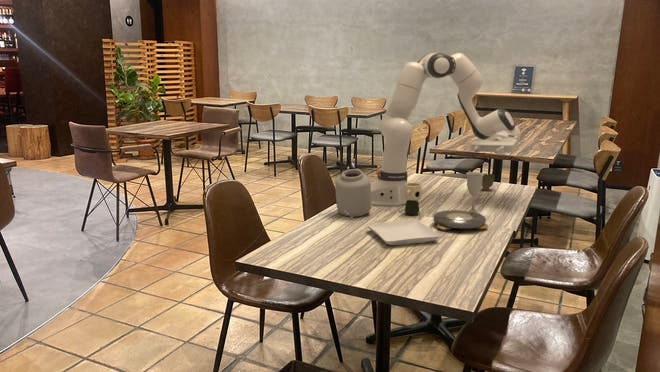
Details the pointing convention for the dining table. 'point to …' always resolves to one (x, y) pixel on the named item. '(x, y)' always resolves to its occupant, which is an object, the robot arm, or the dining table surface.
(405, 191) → the character mug
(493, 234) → the dining table surface
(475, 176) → the chalice
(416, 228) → the salad plate
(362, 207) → the jar
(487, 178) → the cup
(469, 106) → the robot arm
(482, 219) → the plate
